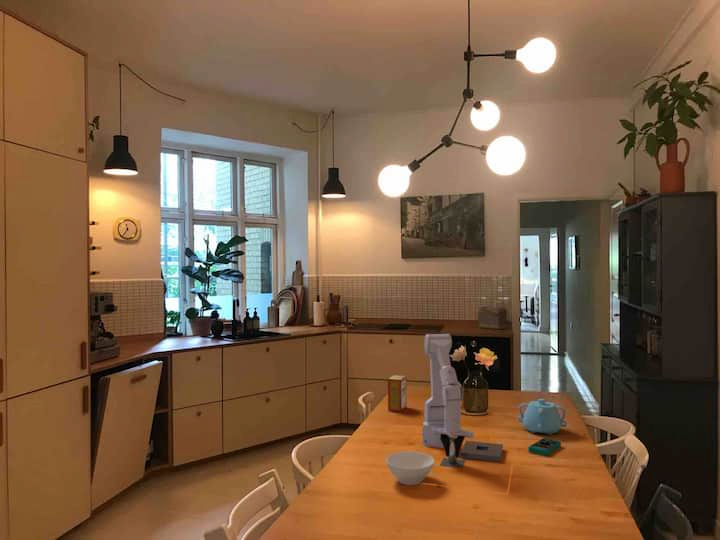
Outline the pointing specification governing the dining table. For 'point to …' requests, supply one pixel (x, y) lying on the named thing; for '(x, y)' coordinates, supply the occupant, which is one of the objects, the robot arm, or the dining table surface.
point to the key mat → (445, 463)
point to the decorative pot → (542, 417)
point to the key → (452, 450)
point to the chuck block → (482, 451)
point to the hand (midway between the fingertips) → (452, 456)
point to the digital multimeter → (544, 446)
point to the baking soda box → (396, 393)
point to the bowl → (410, 466)
